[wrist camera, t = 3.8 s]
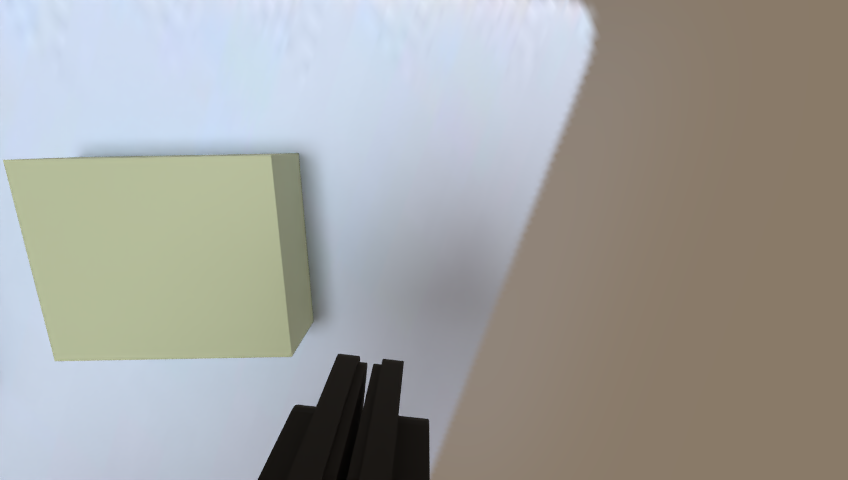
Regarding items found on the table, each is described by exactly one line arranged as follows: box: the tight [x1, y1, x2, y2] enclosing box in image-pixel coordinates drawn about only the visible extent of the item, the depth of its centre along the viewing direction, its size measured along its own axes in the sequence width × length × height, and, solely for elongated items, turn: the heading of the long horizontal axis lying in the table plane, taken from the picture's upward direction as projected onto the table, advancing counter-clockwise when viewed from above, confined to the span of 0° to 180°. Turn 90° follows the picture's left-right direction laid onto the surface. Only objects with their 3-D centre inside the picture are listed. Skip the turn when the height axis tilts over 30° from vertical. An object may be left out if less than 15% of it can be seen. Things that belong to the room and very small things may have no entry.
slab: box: [3, 153, 313, 361], centre depth 21 cm, size 10×12×4 cm
